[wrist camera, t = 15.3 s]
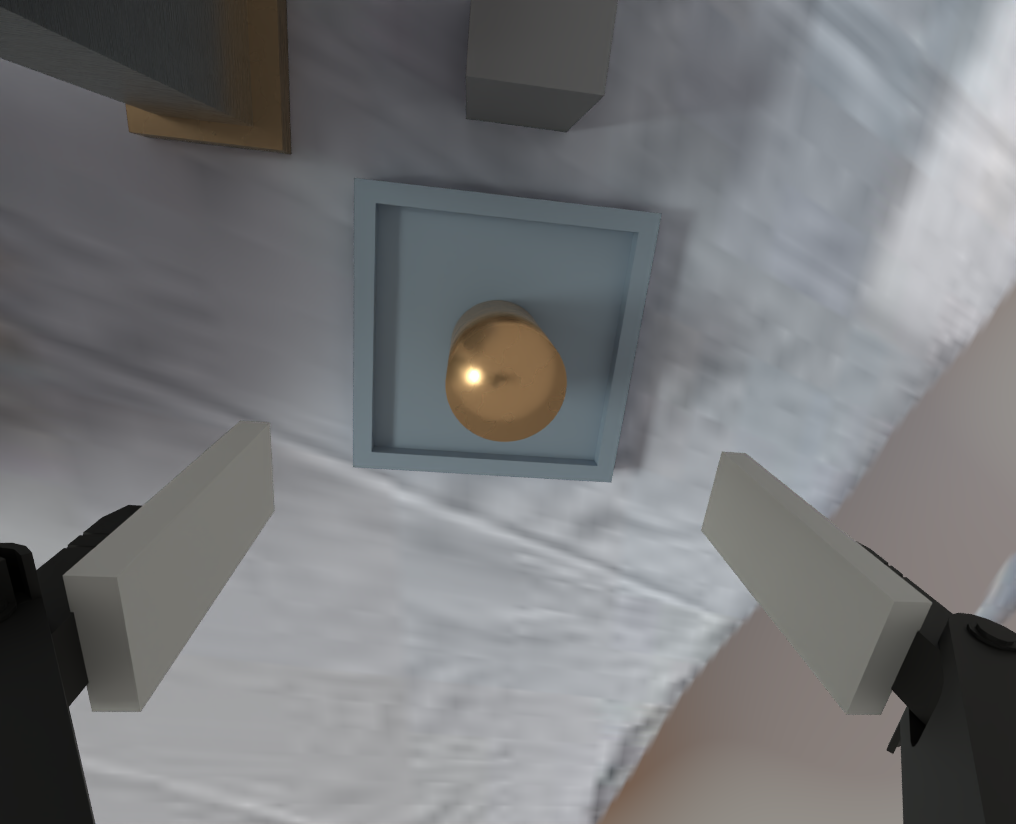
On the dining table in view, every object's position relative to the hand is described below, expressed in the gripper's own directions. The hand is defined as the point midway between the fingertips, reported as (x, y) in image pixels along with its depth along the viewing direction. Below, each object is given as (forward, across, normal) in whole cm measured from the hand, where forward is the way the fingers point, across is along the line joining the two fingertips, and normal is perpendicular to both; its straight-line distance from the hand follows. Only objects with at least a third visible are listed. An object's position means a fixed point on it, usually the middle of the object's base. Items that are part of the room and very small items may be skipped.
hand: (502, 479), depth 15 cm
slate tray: (+21, -1, 0) cm, 21 cm away
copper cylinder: (+20, -1, 0) cm, 20 cm away
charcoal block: (+21, -1, -16) cm, 26 cm away
